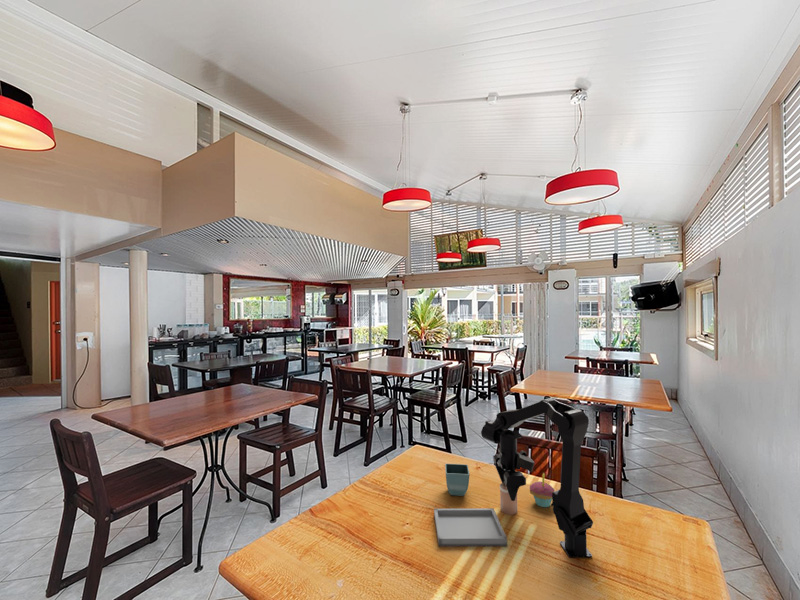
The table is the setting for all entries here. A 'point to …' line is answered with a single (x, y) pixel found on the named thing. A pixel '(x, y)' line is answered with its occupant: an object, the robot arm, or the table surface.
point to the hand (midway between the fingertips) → (508, 493)
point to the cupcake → (542, 493)
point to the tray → (469, 527)
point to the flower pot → (457, 478)
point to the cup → (507, 501)
